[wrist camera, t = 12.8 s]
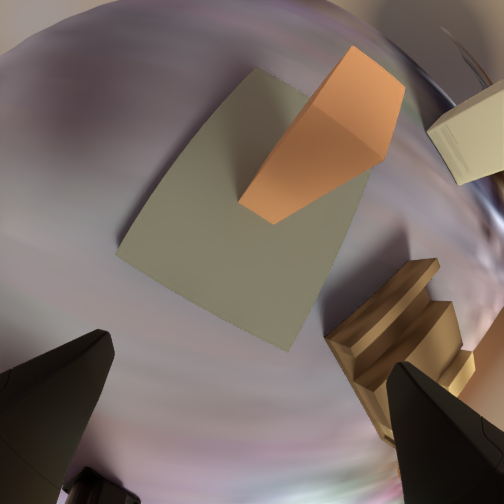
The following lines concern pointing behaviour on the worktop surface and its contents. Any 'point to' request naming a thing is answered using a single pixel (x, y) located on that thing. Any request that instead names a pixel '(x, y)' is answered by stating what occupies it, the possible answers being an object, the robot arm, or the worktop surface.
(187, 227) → the slate tile
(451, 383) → the oak offcut
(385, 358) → the walnut rack
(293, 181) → the orange rectangular block
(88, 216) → the worktop surface
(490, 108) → the supplement box
